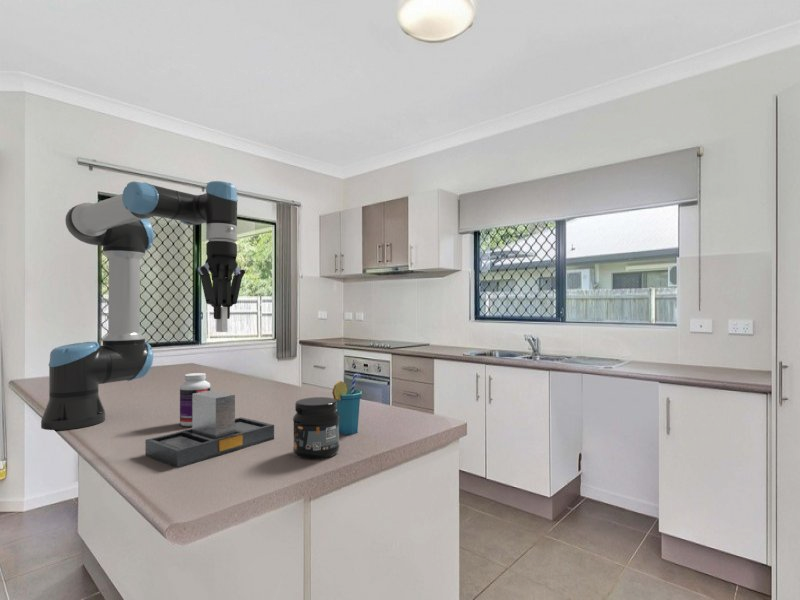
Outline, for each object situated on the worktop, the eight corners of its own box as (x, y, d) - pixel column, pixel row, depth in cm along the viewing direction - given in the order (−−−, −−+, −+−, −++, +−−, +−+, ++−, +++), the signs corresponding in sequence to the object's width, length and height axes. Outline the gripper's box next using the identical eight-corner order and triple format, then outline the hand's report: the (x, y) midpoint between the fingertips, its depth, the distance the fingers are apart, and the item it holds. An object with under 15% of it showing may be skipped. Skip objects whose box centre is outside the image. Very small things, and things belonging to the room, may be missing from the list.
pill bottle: (198, 428, 123) (198, 376, 124) (173, 427, 125) (173, 376, 125) (216, 421, 131) (216, 372, 132) (192, 419, 133) (192, 371, 133)
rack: (145, 455, 101) (145, 439, 101) (241, 430, 121) (241, 417, 121) (177, 468, 92) (178, 451, 93) (274, 439, 113) (274, 425, 113)
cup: (348, 423, 128) (347, 371, 128) (372, 425, 125) (372, 372, 126) (324, 436, 115) (324, 378, 115) (351, 439, 112) (351, 380, 112)
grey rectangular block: (192, 442, 108) (192, 393, 108) (211, 437, 112) (211, 390, 112) (215, 450, 102) (215, 398, 102) (234, 444, 106) (234, 394, 106)
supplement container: (299, 445, 107) (299, 396, 107) (342, 446, 107) (342, 396, 107) (287, 461, 97) (287, 406, 97) (335, 461, 96) (334, 406, 97)
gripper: (206, 237, 109) (206, 333, 108) (251, 243, 119) (251, 330, 119) (190, 240, 113) (190, 332, 113) (235, 245, 124) (235, 330, 123)
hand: (221, 331), depth 116 cm, fingers closed
